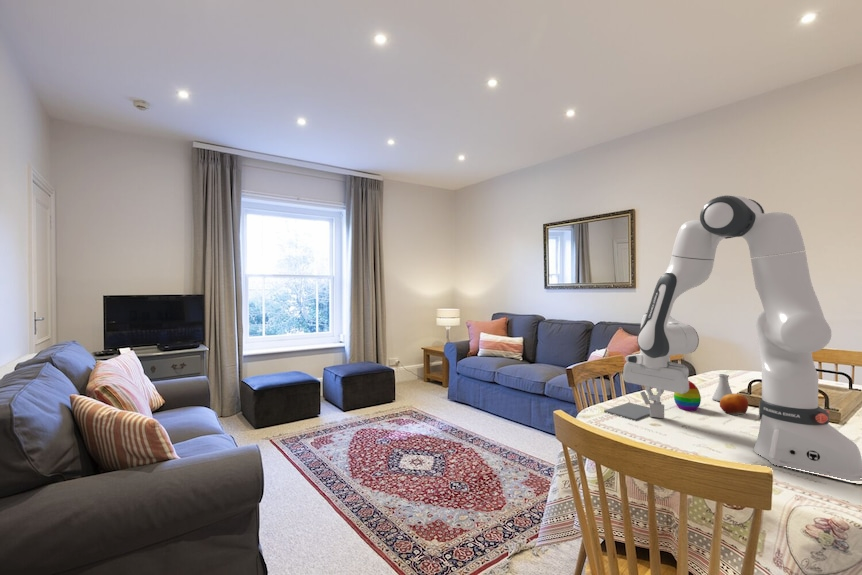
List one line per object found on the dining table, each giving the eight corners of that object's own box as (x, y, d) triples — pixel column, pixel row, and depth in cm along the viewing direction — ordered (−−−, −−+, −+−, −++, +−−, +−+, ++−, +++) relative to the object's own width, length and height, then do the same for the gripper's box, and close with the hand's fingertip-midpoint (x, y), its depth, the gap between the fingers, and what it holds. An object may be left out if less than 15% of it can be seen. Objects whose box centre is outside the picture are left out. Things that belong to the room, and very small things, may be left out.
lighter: (663, 417, 138) (663, 393, 139) (664, 418, 137) (664, 393, 138) (639, 414, 140) (640, 390, 142) (640, 415, 139) (640, 391, 140)
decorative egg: (701, 413, 142) (701, 384, 142) (673, 409, 147) (673, 381, 146) (700, 407, 149) (700, 379, 149) (674, 403, 154) (674, 377, 153)
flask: (707, 399, 159) (708, 373, 158) (719, 397, 162) (719, 372, 162) (728, 404, 152) (728, 377, 152) (739, 402, 155) (739, 375, 155)
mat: (659, 411, 144) (659, 409, 144) (635, 420, 135) (635, 418, 135) (628, 404, 153) (628, 402, 153) (604, 412, 144) (604, 410, 144)
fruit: (742, 415, 135) (730, 391, 139) (722, 421, 142) (711, 398, 146) (760, 413, 138) (748, 389, 141) (740, 418, 144) (729, 396, 148)
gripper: (693, 363, 131) (692, 406, 131) (630, 354, 147) (630, 392, 148) (684, 366, 127) (683, 410, 127) (620, 356, 144) (620, 395, 144)
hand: (654, 400), depth 138 cm, fingers closed
